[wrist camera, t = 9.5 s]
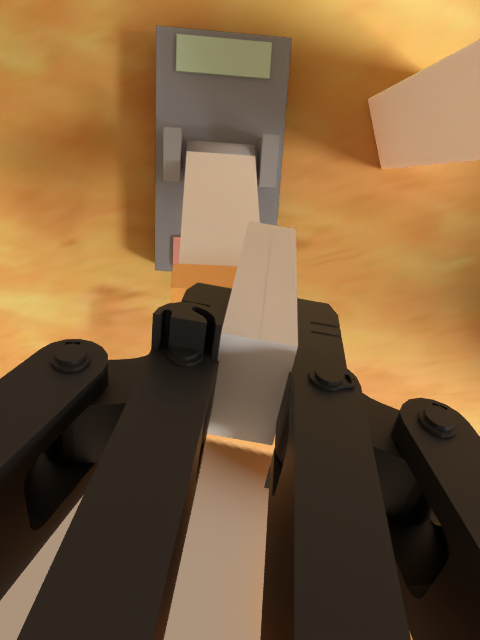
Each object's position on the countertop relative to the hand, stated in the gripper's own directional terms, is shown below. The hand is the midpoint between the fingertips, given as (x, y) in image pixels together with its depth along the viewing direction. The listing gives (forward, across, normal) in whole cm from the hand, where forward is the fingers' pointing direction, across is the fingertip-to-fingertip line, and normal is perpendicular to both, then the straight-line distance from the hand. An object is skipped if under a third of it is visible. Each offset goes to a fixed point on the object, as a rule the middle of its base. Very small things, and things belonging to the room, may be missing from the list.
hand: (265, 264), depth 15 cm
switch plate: (+26, +5, +3) cm, 27 cm away
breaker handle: (+22, +5, +1) cm, 23 cm away
